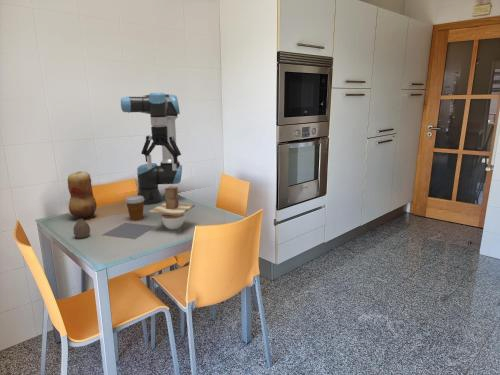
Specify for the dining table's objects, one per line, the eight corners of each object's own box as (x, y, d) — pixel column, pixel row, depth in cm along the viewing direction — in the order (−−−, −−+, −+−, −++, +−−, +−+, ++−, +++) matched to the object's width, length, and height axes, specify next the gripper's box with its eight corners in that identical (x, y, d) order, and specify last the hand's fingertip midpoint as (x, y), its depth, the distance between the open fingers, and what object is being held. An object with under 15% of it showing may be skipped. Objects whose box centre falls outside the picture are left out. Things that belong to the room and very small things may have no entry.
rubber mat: (125, 223, 183) (125, 222, 183) (156, 226, 178) (156, 226, 178) (101, 235, 166) (101, 235, 166) (135, 239, 161) (135, 239, 161)
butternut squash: (65, 222, 186) (59, 174, 180) (76, 214, 199) (71, 169, 193) (92, 221, 186) (87, 174, 180) (102, 213, 199) (97, 169, 193)
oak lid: (166, 203, 184) (165, 182, 181) (194, 206, 179) (194, 185, 177) (149, 213, 169) (147, 190, 166) (179, 216, 165) (178, 192, 162)
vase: (86, 233, 169) (84, 215, 167) (93, 237, 165) (91, 218, 163) (71, 237, 164) (69, 219, 162) (78, 241, 160) (76, 222, 158)
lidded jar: (182, 231, 171) (181, 213, 169) (160, 231, 171) (158, 212, 169) (186, 224, 182) (185, 206, 179) (165, 224, 182) (164, 206, 180)
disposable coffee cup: (123, 220, 187) (121, 198, 184) (136, 215, 195) (134, 194, 192) (136, 223, 183) (134, 200, 180) (149, 218, 191) (148, 196, 188)
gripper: (131, 126, 172) (135, 169, 177) (179, 127, 165) (181, 172, 171) (140, 124, 179) (143, 166, 184) (186, 125, 172) (188, 169, 178)
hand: (162, 169), depth 178 cm, fingers open, 13 cm apart
